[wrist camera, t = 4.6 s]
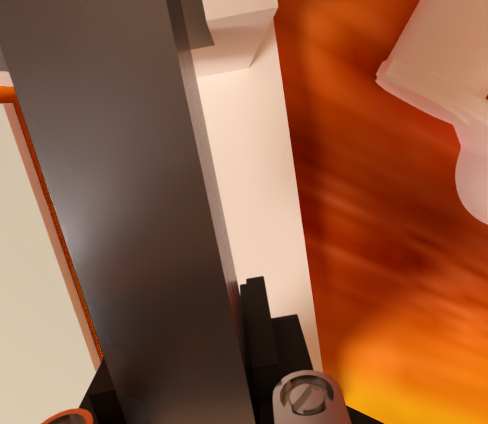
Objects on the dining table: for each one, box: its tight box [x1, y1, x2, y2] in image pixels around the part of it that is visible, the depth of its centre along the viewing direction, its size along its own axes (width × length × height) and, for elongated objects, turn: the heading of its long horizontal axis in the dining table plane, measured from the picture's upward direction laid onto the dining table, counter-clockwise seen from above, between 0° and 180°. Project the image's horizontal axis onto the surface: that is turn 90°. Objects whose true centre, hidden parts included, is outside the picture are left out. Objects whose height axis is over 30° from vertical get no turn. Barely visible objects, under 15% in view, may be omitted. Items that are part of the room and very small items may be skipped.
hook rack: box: [0, 0, 323, 372], centre depth 13 cm, size 24×8×12 cm, turn 10°
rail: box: [0, 0, 257, 424], centre depth 9 cm, size 22×2×2 cm, turn 10°
